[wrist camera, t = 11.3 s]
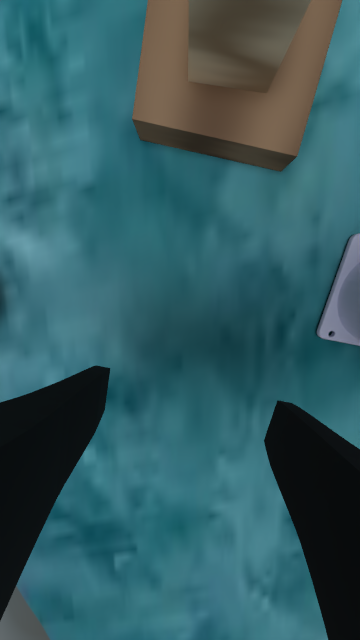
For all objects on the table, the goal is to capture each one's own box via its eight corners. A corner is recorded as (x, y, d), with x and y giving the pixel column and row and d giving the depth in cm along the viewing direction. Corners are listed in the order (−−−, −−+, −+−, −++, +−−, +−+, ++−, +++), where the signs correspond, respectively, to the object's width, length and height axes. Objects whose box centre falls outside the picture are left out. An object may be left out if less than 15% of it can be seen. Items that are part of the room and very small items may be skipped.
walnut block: (327, -4, 15) (362, -70, 12) (278, 174, 17) (297, 156, 14) (168, -43, 14) (163, -120, 12) (141, 143, 17) (132, 118, 14)
